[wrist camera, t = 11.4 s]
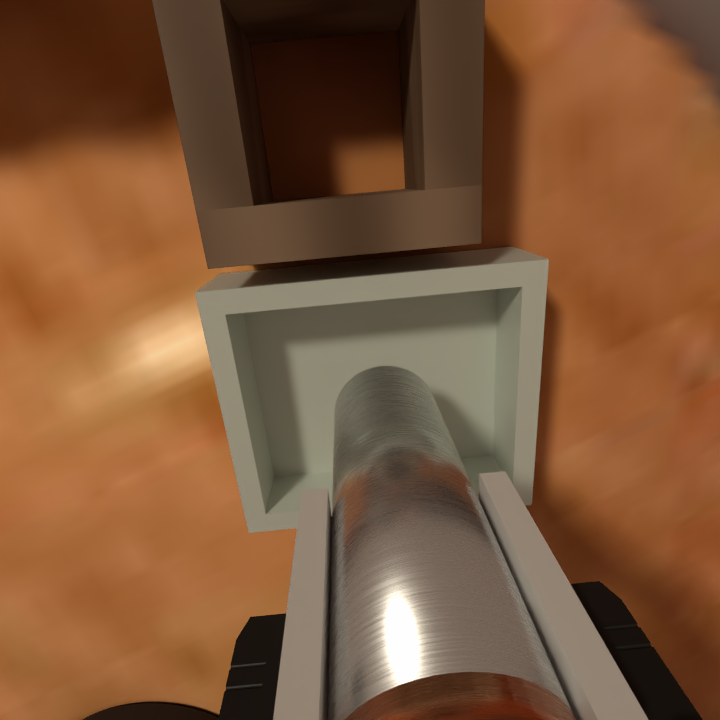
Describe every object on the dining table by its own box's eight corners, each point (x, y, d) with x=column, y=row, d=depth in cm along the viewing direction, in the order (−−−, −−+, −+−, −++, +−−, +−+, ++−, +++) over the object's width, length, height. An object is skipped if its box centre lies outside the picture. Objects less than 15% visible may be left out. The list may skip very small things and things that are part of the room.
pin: (339, 460, 20) (339, 956, 7) (329, 371, 19) (303, 803, 6) (436, 450, 20) (609, 928, 7) (433, 360, 19) (650, 768, 6)
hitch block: (237, 250, 21) (208, 268, 16) (189, -14, 17) (133, -88, 13) (449, 230, 21) (481, 243, 16) (446, -36, 17) (486, -118, 13)
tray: (261, 482, 26) (248, 533, 22) (220, 273, 21) (194, 292, 17) (504, 458, 26) (531, 504, 22) (512, 246, 21) (548, 259, 18)
